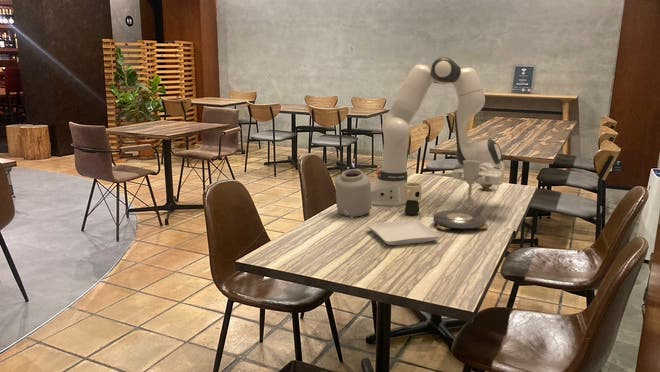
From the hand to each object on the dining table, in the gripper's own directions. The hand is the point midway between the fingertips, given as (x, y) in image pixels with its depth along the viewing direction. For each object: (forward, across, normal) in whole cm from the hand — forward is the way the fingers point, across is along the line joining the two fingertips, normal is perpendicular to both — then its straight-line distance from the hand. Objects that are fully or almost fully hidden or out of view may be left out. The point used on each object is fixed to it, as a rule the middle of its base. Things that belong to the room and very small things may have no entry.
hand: (469, 179), depth 224 cm
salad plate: (+36, -10, +17) cm, 41 cm away
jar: (+23, -41, +17) cm, 50 cm away
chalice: (-1, 0, +11) cm, 11 cm away
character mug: (+7, -22, +17) cm, 29 cm away
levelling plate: (+10, +1, +17) cm, 20 cm away
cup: (-54, -14, +17) cm, 58 cm away
